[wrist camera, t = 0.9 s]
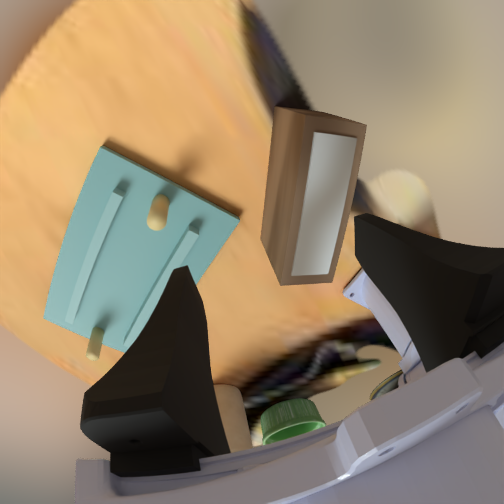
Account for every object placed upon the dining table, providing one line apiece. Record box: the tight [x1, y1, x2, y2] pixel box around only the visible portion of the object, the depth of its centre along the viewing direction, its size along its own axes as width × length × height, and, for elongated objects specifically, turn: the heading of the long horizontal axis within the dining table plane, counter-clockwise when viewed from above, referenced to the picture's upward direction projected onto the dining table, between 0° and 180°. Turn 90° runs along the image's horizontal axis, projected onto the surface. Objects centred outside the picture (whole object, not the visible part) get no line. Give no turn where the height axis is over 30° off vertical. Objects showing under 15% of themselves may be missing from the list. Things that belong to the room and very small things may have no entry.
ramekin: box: [261, 398, 326, 445], centre depth 37 cm, size 9×9×4 cm
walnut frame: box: [261, 106, 367, 286], centre depth 19 cm, size 4×10×6 cm, turn 175°
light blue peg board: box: [44, 145, 240, 361], centre depth 21 cm, size 11×17×4 cm, turn 145°
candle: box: [214, 384, 253, 453], centre depth 29 cm, size 6×6×10 cm
